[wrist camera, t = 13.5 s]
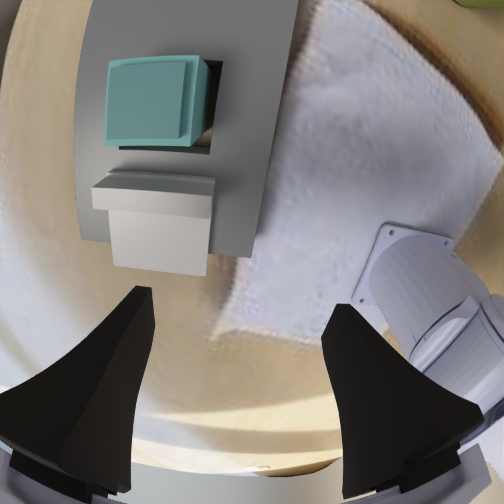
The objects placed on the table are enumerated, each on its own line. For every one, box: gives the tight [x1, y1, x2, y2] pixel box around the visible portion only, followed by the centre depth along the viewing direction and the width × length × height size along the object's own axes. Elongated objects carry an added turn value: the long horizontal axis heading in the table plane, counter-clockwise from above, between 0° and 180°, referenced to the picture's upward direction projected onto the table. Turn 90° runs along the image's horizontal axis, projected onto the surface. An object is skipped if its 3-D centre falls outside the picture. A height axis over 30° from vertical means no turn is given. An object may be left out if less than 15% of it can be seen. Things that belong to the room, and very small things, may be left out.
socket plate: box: [73, 0, 299, 258], centre depth 13 cm, size 12×18×2 cm, turn 171°
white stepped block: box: [91, 170, 216, 276], centre depth 15 cm, size 6×6×3 cm
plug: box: [105, 55, 212, 147], centre depth 12 cm, size 4×4×7 cm
